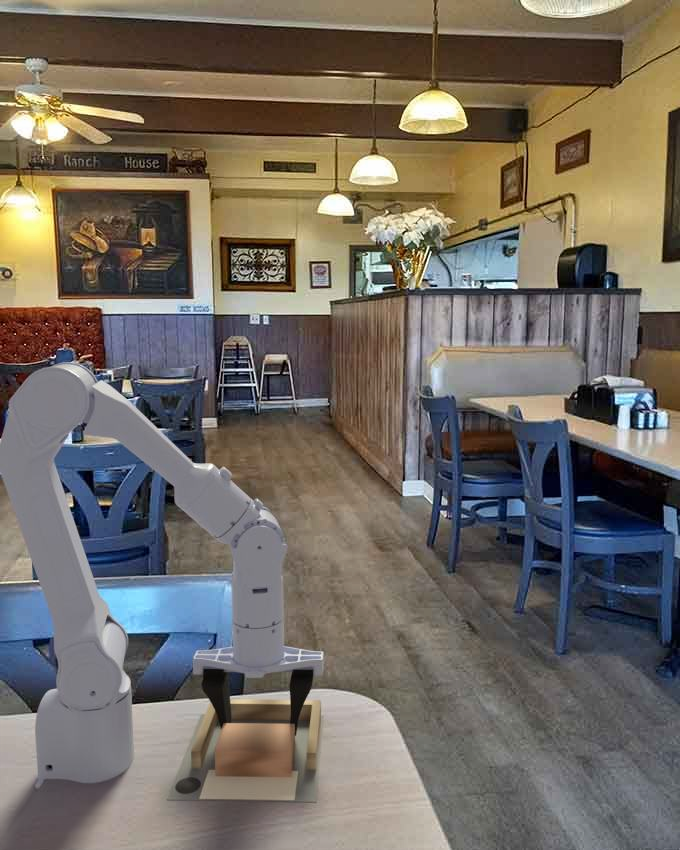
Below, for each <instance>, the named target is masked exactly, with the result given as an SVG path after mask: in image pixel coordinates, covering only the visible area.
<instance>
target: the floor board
mask: <svg viewBox="0 0 680 850" xmlns="http://www.w3.org/2000/svg"><path fill="white" fill-rule="evenodd" d="M205 714H206V713H202V714H200V716H199V719H198V720H197V721H198V722H197V724H196V727H195V729H194V731H193V733H192V737H191V739H190V742H189V744H188V747H187V749H186V752H185V753H184V756H183V758H182V761H181V764H180V765H179V769H178V772H177V774H176V776H175V779H174V781H173V784H172V785H171V788H170V791H169V794H168V796H167V799H166V801H196V802H197V801H203V802H205V801H206V802H210V801H211V802H259V803H261V802H264V803H267V802H268V803H271V802H272V803H274V802H275V803H278V802H279V803H317V799H318V798H317V796H318V787H319V785H318V784H319V774H320V763H321V752H322V751H321V750H322V740H323V729H324V728H323V726H324V715H321V722H320V733H319V744H318V755H317V766H316V770H307V745H308V737H309V728H310V720H298V725H297V733H296V736H295V753H294V760H293V767H292V774H291V777H245V776H215V747H216V744H217V741H218V738H219V735H220V732H221V726H220V723H219V720H218V721H217V724H216V727H215V730H214V733H213V735H212V738H211V741H210V744H209V747H208V750H207V752H206V755H205V758H204V761H203V764H202V767H201V769H197V768H192V766H191V750H192V747H193V745H194V742H195V740H196V737H197V735H198V732H199V729H200V727H201V724H202V722H203V719H204V717H205ZM231 723H266V724H290V720H261V719H231Z"/></svg>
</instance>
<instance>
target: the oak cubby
mask: <svg viewBox="0 0 680 850" xmlns="http://www.w3.org/2000/svg"><path fill="white" fill-rule="evenodd" d="M230 704H231V719H261V720H290V717H291V703H290V699H250V698H249V699H247V698H246V699H243V698H241V699H239V698H238V699H237V698H233V699H232V698H230ZM204 714H205V717H204V719H203V722H202V724H201V727H200V729H199V732H198V735H197V737H196V740H195V742H194V745H193V747H192V750H191V766H192V768H197V769H201V767H202V764H203V761H204V758H205V755H206V752H207V750H208V747H209V744H210V741H211V738H212V735H213V733H214V730H215V727H216V724H217V721H218V717H217V714H216V712H215V709H214V707H213V705H212V703H211V702H210V701H209V703H208V707H207V709H206V712H205V713H204ZM321 716H322V700H321V699H319V700H316V699H315V700H314V699H313V700H312V699H306V700H305V702H304V704H303V707H302V710H301V712H300V716H299V719H298V720H310V728H309V737H308V745H307V770H316V766H317V755H318V744H319V733H320V722H321Z"/></svg>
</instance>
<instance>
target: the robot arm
mask: <svg viewBox="0 0 680 850" xmlns="http://www.w3.org/2000/svg"><path fill="white" fill-rule="evenodd" d="M81 423H84V424H86V426H85V428H84V430H83V431H82V435H83V436H91V437H98V438H99V437H101V438H108V439H113V440H116V441H117V442H118V443H120V444H121V445H123V446H124V447H125V448H126V449H128V450H129V451H130V453H132V454H133V455H135V456H136V458H138V459H140V460H141V461H142V462H143V463H144V464H145V465H147V466H149V468H150V469H152V470H153V471H154V472H156V473H157V474H158V475H159V476H161V477H162V479H163V478H164V480H165V481H167V482H168V483H169V484H170V485H171V486H173V489H174V504H175V505H176V506H177V507H178V508H179V509H180V510H182V511H183V512H184V513H185V514H187V516H189V517H190V518H191V519H192V520H194V521H195V522H196V523H197V524H198V525H199V526H200V527H201V528H202V529H203V530H205V531H206V532H207V533H208V534H209V535H210V536H211V537H213V538H214V539H215V541H218V542H219V543H224V544H226V545H228V546H229V547H231V548H230V554H231V557H232V564H233V565H232V566H233V568H232V569H233V570H232V571H233V573H232V574H233V576H232V578H231V581H230V582H231V583H230V584H231V618H232V619H231V623H232V624H231V625H232V646H228V647H223V648H221V647H220V648H215V649H204V650H196V651H195V652H194V653H195V654H194V655H193V657H192V671H193V675H194V676H195V675H202V680H201V684H200V685H201V689H202V691H203V693H204V694H205V695H206V697H207V698H208V700H209V703H210V702H211V703H212V705H213V707H214V709H215V712H216V714H217V717H218V720H219V723H220V726H221V729H222V726H223V723H231V704H230V699H231V673H241V674H244V677H245V678H247V679H262V678H264V676H265V675H267V674H272V673H291V675H290V681H289V696H290V697H289V700H290V703H291V717H290V724H295V736H296V733H297V725H298V719H299V716H300V712H301V710H302V707H303V704H304V702H305V700H307V699H308V696H309V694H310V692H311V689H312V686H313V683H314V682H313V681H314V676H316V677H317V676H318V677H319V676H324V665H325V664H324V651H317V650H309V649H302V648H297V647H292V646H285V626H284V625H285V622H284V621H285V620H284V617H285V616H284V615H285V613H284V612H285V611H284V607H285V606H284V578H283V577H284V576H283V575H282V570H283V561H284V559H286V555H287V551H288V544H287V543H286V538H285V535H284V533H283V530H282V528H281V527H280V524H279V522H278V520H277V518H275V516H274V515H273V513H272V512H271V511H270V509H269V508H268V507H266V506H264V503H263V502H262V501H261V500H260V499H258V497H257V498H255V499H254V500H253V499H252V498H251V497H250V496H249V495H248V494H246V492H244V491H243V490H242V489H241V488H240V487H239V486H237V485H236V483H234V482H233V480H231V479H232V478H233V475H232V472H231V471H230V470H229V469H227V468H226V467H225V466H222V467H221V468H220V469H219V468H218V467H217V466H216V465H214V463H209V462H206V463H197V462H196V463H195V462H193V461H192V460H191V459H190V458H189V457H188V456H187V455H186V454H185V453H184V452H183V451H182V450H181V449H180V448H179V447H178V446H177V445H175V443H174V442H172V441H171V440H170V439H169V438H168V436H167V435H165V434H164V433H163V432H162V430H160V429H159V428H158V427H157V426H156V425H155V424H154V423H153V422H152V421H150V420H149V418H147V416H145V415H144V413H142V412H141V411H140V409H138V408H137V407H136V406H135V405H134V404H133V403H132V402H131V401H130V400H129V399H127V398H126V397H125V396H124V395H122V394H121V393H120V392H119V391H118V390H117V389H116V388H114V387H113V386H112V385H110V384H108V383H107V382H106V381H104V380H102V379H101V380H99V381H98V379H97V377H96V376H95V374H94V373H93V372H92V371H91V370H90V369H88V367H85V366H84V365H83V364H80V363H76V362H69V361H66V362H59V363H56V364H53V365H52V366H47V367H42V368H40V369H37V370H35V371H33V372H32V373H31V374H30V375H28V377H26V379H25V380H24V381H23V382H22V384H21V385H19V387H18V389H17V390H16V391H15V392H14V394H13V395H12V396H11V397H10V399H9V401H8V413H7V417H6V420H5V425H4V427H3V432H2V434H1V438H0V475H1V479H2V481H3V485H4V486H5V490H6V493H7V495H8V498H9V501H10V503H11V507H12V509H13V512H14V514H15V518H16V520H17V523H18V527H19V529H20V532H21V534H22V538H23V541H24V544H25V545H26V548H27V551H28V554H29V557H30V560H31V562H32V566H33V568H34V571H35V574H36V577H37V580H38V582H39V586H40V588H41V591H42V594H43V596H44V599H45V602H46V604H47V607H48V610H49V613H50V616H51V619H52V623H53V649H54V650H53V651H54V654H55V657H56V659H57V665H58V668H57V669H58V671H57V675H56V681H55V682H56V688H53V689H52V688H51V689H49V690H47V691H46V692H45V694H44V695H43V697H42V698H41V700H40V703H39V705H38V708H37V712H36V717H35V725H34V727H35V728H34V735H35V748H36V749H35V751H36V761H37V762H36V765H37V778H38V779H37V782H36V783H35V784H34V786H35V789H36V790H39V789H40V787H41V786H42V784H43V783H44V781H45V780H65V781H67V780H68V781H73V782H75V783H81V784H96V783H97V784H98V783H101V782H105V781H109V780H111V779H114V778H116V777H117V776H120V775H121V774H123V773H124V772H126V771H127V770H128V769H129V768H130V767H131V766H132V764H133V762H134V760H135V742H134V725H133V724H134V723H133V722H134V721H133V703H132V702H133V700H132V699H133V698H132V683H131V682H132V681H131V679H130V677H129V676H128V675H127V673H126V672H125V669H124V667H123V666H124V661H125V657H126V656H125V655H126V653H127V650H128V647H129V636H128V633H127V631H126V629H125V627H124V625H123V624H121V623H120V622H119V621H118V620H117V619H116V618H115V617H114V616H113V614H112V613H111V610H110V607H109V604H108V603H107V601H106V600H104V599H103V598H102V596H100V593H99V590H98V587H97V584H96V581H95V578H94V575H93V573H92V569H91V567H90V564H89V561H88V558H87V554H86V552H85V549H84V546H83V543H82V539H81V536H80V534H79V531H78V529H77V525H76V523H75V520H74V516H73V514H72V511H71V508H70V505H69V501H68V499H67V496H66V493H65V489H64V488H63V484H62V482H61V478H60V475H59V472H58V470H57V465H56V463H55V458H56V456H57V454H58V453H59V452H60V450H61V448H62V447H63V446H64V443H65V442H66V440H67V439H68V437H69V436H70V433H72V432H73V431H74V429H76V428H77V427H78V426H79V425H80V424H81Z"/></svg>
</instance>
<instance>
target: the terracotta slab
mask: <svg viewBox="0 0 680 850" xmlns="http://www.w3.org/2000/svg"><path fill="white" fill-rule="evenodd" d="M294 753H295V724H266V723H223V726H222V729H221V732H220V735H219V738H218V741H217V744H216V747H215V776H245V777H291V774H292V767H293V760H294Z"/></svg>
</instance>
